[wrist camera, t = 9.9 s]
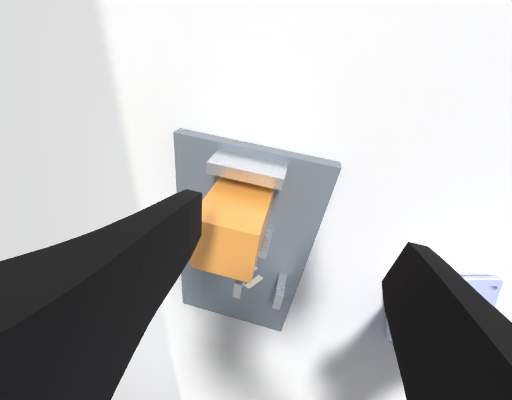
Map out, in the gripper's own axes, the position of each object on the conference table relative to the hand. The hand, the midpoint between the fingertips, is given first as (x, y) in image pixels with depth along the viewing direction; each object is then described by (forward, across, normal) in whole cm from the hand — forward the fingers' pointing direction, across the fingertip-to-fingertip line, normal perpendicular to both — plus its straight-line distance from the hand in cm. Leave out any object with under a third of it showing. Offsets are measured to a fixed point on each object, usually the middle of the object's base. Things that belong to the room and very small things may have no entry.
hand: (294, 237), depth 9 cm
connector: (+9, +3, +5) cm, 11 cm away
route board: (+10, +3, +11) cm, 15 cm away
